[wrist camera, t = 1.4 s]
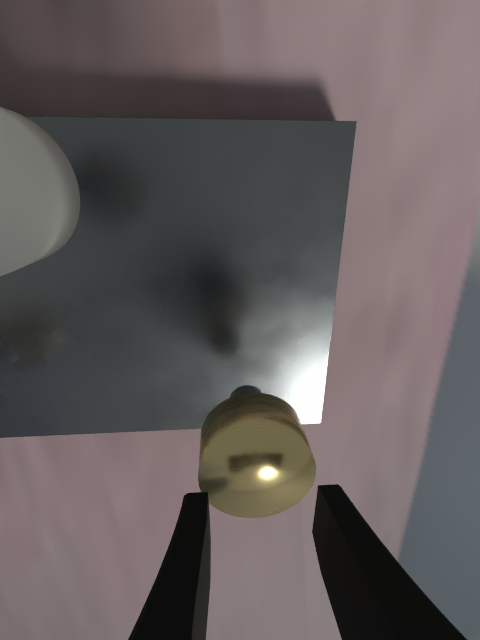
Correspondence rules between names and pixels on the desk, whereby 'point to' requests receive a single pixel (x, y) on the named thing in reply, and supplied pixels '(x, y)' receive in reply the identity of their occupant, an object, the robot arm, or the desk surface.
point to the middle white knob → (33, 193)
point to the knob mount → (179, 275)
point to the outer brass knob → (254, 455)
